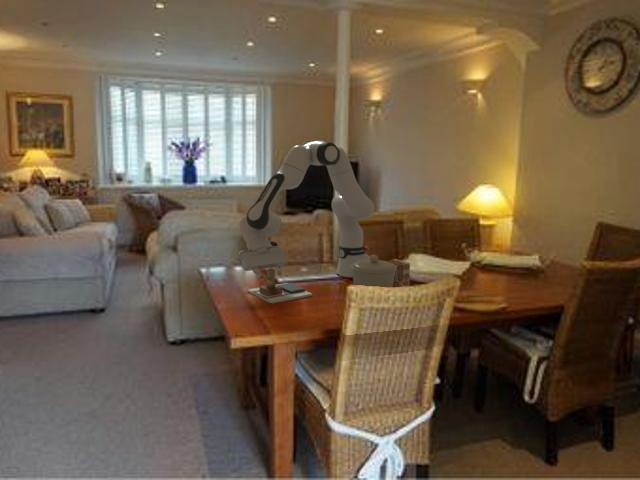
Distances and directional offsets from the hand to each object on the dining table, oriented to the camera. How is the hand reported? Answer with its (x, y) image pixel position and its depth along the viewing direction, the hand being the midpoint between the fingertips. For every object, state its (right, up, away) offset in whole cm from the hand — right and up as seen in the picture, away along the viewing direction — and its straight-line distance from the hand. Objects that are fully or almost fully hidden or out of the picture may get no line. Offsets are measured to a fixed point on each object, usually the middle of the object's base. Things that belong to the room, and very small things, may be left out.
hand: (270, 275), depth 222 cm
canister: (+42, -12, -11) cm, 45 cm away
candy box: (+54, -9, +3) cm, 55 cm away
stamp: (0, -7, +1) cm, 8 cm away
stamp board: (+3, -8, +4) cm, 10 cm away
